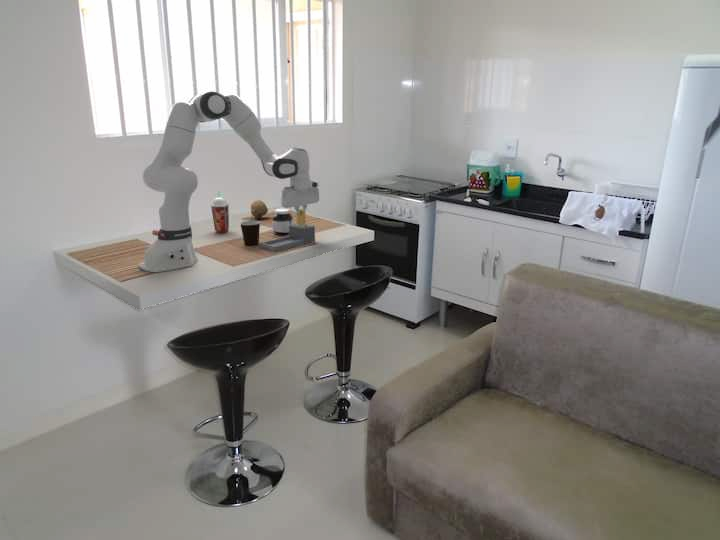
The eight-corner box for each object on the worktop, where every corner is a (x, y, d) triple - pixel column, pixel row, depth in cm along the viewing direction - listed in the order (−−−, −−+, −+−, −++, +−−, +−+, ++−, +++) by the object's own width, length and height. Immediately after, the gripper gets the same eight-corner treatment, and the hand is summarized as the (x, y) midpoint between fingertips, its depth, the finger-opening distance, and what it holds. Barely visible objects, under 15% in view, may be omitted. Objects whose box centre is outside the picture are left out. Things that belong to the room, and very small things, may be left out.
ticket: (304, 229, 246) (303, 210, 243) (297, 228, 249) (296, 208, 246) (305, 229, 246) (305, 210, 243) (298, 227, 249) (297, 208, 247)
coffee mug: (256, 247, 239) (255, 225, 236) (238, 246, 240) (237, 224, 237) (266, 240, 250) (265, 219, 246) (249, 239, 251) (247, 218, 248)
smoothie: (234, 231, 267) (231, 191, 260) (221, 234, 260) (218, 193, 254) (222, 228, 271) (219, 189, 265) (209, 232, 264) (206, 192, 258)
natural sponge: (270, 216, 297) (269, 199, 294) (265, 220, 289) (264, 202, 286) (254, 216, 298) (253, 198, 295) (249, 219, 290) (247, 201, 287)
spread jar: (283, 236, 257) (282, 212, 253) (264, 233, 262) (263, 210, 258) (298, 231, 266) (297, 208, 263) (280, 228, 272) (278, 205, 268)
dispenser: (274, 251, 232) (273, 234, 230) (260, 247, 238) (259, 231, 236) (314, 241, 249) (314, 225, 246) (300, 237, 255) (300, 221, 253)
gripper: (286, 188, 232) (288, 219, 236) (321, 182, 246) (321, 212, 251) (277, 186, 236) (278, 217, 240) (311, 181, 250) (312, 210, 255)
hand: (301, 214), depth 246 cm, fingers closed on ticket, 1 cm apart
